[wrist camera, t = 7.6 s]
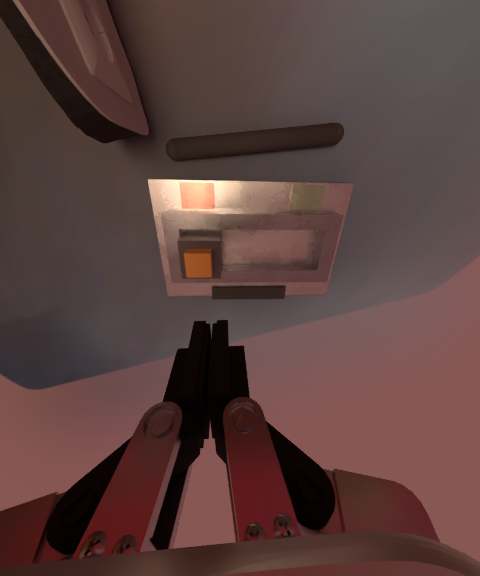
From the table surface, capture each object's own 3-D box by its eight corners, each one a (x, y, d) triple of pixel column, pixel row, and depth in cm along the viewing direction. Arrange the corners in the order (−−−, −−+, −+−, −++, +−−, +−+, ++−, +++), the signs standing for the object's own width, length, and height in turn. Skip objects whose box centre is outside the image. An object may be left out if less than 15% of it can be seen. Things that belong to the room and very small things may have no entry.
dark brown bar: (282, 281, 29) (285, 287, 28) (281, 292, 30) (284, 298, 28) (212, 281, 29) (211, 287, 27) (213, 292, 29) (212, 299, 28)
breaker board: (347, 183, 23) (365, 183, 20) (321, 289, 30) (332, 302, 27) (152, 179, 22) (140, 179, 19) (170, 290, 29) (163, 304, 26)
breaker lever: (221, 229, 24) (219, 245, 18) (222, 261, 25) (220, 284, 20) (186, 229, 23) (173, 244, 18) (189, 262, 25) (179, 285, 20)
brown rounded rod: (339, 124, 21) (349, 119, 19) (337, 145, 22) (345, 142, 20) (166, 141, 21) (161, 138, 19) (171, 161, 22) (166, 160, 20)
